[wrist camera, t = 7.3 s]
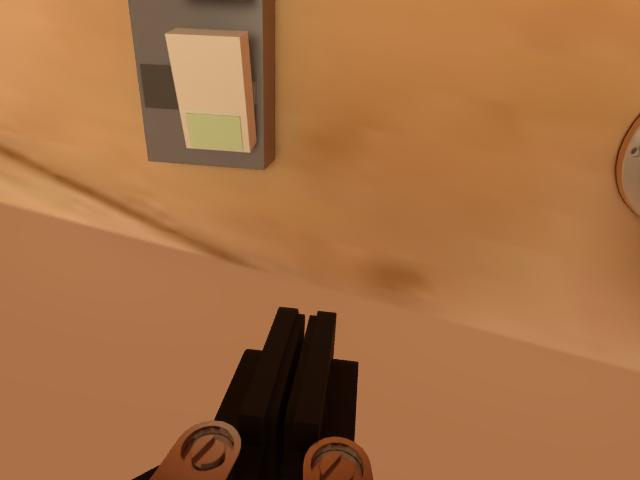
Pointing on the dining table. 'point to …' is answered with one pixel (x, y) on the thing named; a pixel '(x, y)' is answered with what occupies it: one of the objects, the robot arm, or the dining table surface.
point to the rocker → (213, 88)
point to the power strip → (158, 84)
